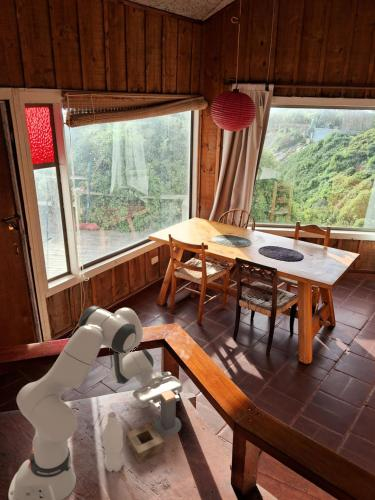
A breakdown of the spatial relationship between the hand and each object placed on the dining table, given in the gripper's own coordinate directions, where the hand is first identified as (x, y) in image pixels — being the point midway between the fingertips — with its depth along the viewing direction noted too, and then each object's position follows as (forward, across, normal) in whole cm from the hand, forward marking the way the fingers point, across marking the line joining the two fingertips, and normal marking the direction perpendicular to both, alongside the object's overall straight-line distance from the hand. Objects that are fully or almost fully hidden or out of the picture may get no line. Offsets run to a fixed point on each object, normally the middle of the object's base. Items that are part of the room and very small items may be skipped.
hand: (168, 403), depth 167 cm
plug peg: (0, 0, +11) cm, 11 cm away
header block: (+5, -13, +12) cm, 19 cm away
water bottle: (+7, -27, +12) cm, 30 cm away
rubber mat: (0, 0, +12) cm, 12 cm away
